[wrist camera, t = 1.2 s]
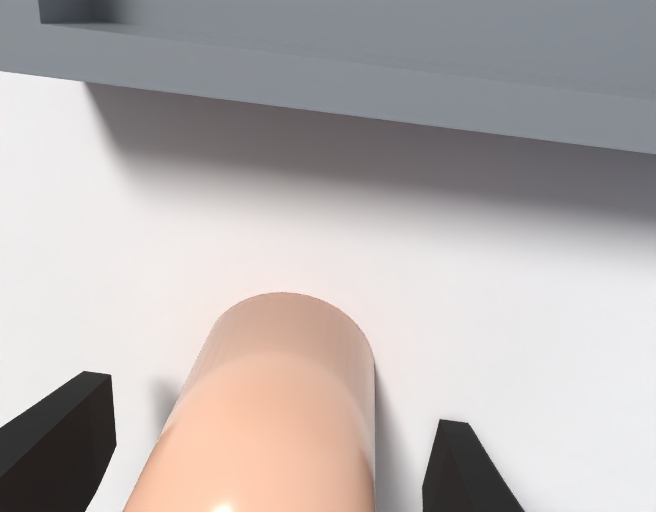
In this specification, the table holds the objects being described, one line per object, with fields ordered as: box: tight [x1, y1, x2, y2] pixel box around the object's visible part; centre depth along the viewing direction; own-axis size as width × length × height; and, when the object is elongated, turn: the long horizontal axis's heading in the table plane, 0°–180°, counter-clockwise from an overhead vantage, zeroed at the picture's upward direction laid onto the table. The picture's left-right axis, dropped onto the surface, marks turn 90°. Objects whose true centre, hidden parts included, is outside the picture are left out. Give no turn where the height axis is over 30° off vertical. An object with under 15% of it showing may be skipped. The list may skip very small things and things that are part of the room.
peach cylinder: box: [123, 292, 375, 512], centre depth 11 cm, size 4×4×7 cm
